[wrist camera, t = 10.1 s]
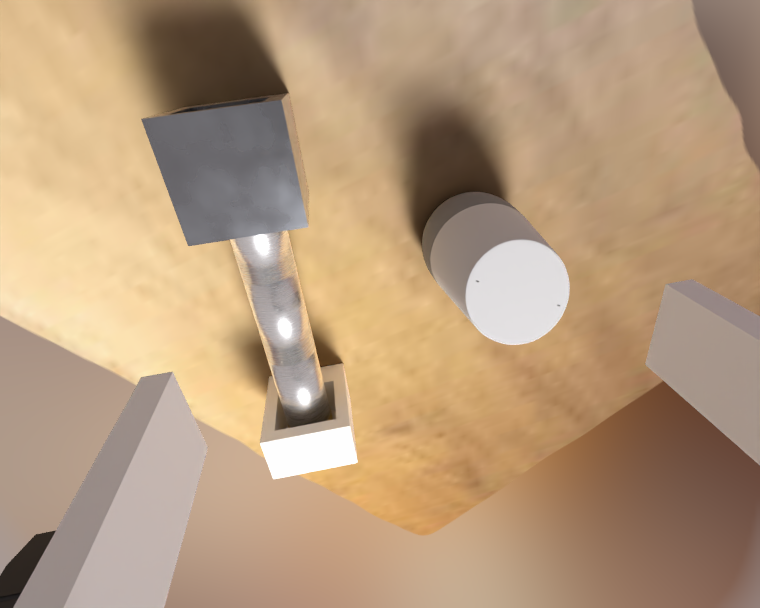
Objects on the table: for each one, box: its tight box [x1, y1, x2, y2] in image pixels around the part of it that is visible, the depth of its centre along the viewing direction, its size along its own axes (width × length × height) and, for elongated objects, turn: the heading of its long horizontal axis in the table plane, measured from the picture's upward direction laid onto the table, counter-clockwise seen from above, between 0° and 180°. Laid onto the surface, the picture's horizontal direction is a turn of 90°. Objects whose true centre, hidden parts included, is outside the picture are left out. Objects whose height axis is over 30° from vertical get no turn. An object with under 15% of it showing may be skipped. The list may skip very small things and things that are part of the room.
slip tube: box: [230, 230, 333, 428], centre depth 37 cm, size 26×4×4 cm, turn 7°
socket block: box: [260, 363, 358, 479], centre depth 43 cm, size 5×8×10 cm, turn 96°
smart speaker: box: [422, 192, 570, 345], centre depth 35 cm, size 10×9×14 cm
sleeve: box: [142, 93, 309, 246], centre depth 31 cm, size 8×8×9 cm
